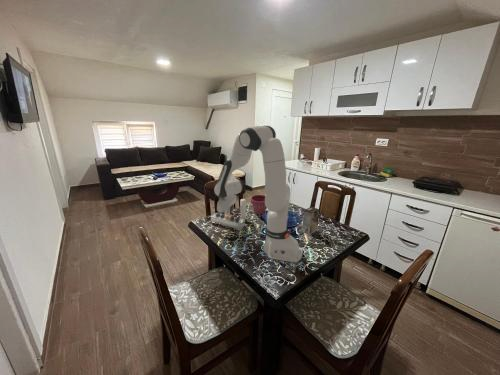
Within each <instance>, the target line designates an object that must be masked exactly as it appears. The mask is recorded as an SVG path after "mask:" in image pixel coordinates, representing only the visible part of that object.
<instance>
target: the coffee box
mask: <svg viewBox="0 0 500 375" xmlns="http://www.w3.org/2000/svg"><path fill="white" fill-rule="evenodd" d="M319 217H320V208H317V207H313V206H309V207H308V208H306V209H303V216H302V224H301V225H302V226H301V232H302V233H304V234H307V235H308V236H310V235H312V234H314V233H315V232H317V231H318V224H319Z"/></svg>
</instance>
